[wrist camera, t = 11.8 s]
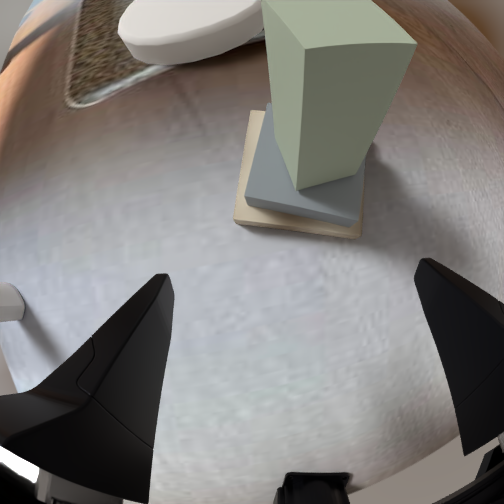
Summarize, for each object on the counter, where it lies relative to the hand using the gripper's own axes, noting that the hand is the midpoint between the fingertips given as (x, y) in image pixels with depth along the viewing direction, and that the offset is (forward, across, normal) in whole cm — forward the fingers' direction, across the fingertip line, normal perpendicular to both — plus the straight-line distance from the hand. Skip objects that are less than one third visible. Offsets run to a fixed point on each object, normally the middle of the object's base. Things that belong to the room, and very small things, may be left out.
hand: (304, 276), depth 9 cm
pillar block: (+12, -3, -1) cm, 13 cm away
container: (+33, +8, -16) cm, 38 cm away
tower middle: (+14, -3, +1) cm, 15 cm away
